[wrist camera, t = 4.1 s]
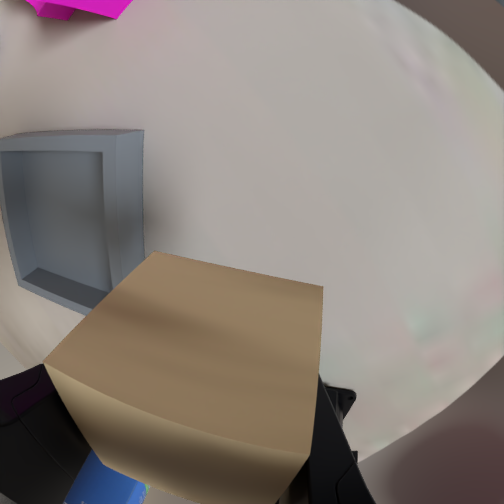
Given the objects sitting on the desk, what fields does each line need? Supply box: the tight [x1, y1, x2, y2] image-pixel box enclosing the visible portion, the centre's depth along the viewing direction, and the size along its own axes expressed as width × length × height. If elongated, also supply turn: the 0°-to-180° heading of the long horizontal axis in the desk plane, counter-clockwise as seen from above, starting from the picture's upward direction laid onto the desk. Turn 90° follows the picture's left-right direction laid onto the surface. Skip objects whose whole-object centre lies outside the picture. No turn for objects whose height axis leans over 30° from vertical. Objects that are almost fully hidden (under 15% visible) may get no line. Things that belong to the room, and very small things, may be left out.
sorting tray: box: [0, 130, 145, 316], centre depth 20 cm, size 14×14×3 cm
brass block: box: [43, 251, 323, 504], centre depth 8 cm, size 5×5×5 cm
